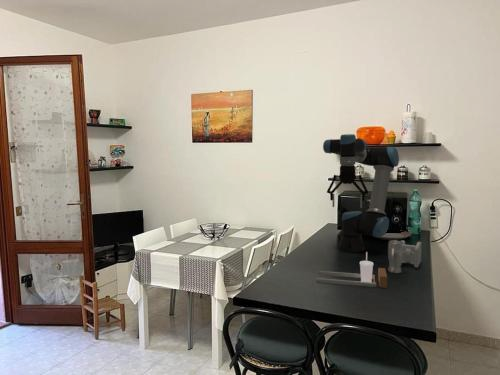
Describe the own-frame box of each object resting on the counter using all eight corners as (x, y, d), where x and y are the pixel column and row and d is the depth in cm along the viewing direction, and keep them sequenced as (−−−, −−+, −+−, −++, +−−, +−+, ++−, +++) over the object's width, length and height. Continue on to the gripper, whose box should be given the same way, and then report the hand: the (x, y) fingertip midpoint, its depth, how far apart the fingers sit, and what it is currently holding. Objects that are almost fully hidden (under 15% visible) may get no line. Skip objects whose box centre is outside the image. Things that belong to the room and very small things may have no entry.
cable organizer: (417, 270, 183) (418, 247, 182) (395, 267, 188) (395, 245, 187) (421, 262, 195) (421, 241, 194) (400, 259, 201) (400, 238, 200)
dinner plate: (359, 235, 259) (359, 230, 258) (389, 231, 269) (389, 226, 269) (388, 244, 234) (388, 239, 233) (419, 239, 244) (419, 234, 244)
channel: (316, 282, 169) (316, 271, 168) (319, 273, 180) (319, 263, 180) (386, 288, 161) (387, 277, 160) (384, 278, 172) (384, 268, 171)
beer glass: (401, 269, 184) (402, 240, 182) (402, 274, 178) (403, 244, 176) (387, 268, 186) (387, 239, 185) (387, 272, 180) (388, 243, 178)
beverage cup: (365, 284, 165) (366, 254, 163) (356, 280, 170) (356, 251, 169) (376, 282, 167) (376, 252, 166) (366, 278, 173) (367, 249, 171)
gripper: (321, 165, 183) (321, 207, 185) (374, 165, 176) (373, 208, 178) (322, 165, 190) (322, 205, 192) (373, 164, 183) (372, 206, 186)
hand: (347, 207), depth 185 cm, fingers open, 13 cm apart
